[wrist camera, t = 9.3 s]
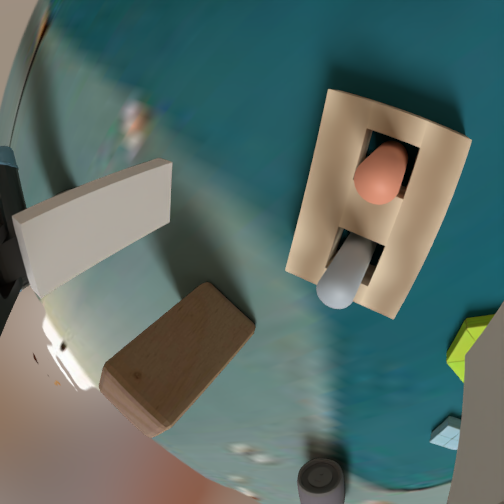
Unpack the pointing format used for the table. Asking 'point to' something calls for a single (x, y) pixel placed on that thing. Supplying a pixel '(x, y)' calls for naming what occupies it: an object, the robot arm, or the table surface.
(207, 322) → the wooden block
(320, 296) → the grey peg
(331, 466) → the bluetooth speaker
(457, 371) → the pattern blocks set
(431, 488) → the table surface
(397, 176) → the red peg
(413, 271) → the hole block
